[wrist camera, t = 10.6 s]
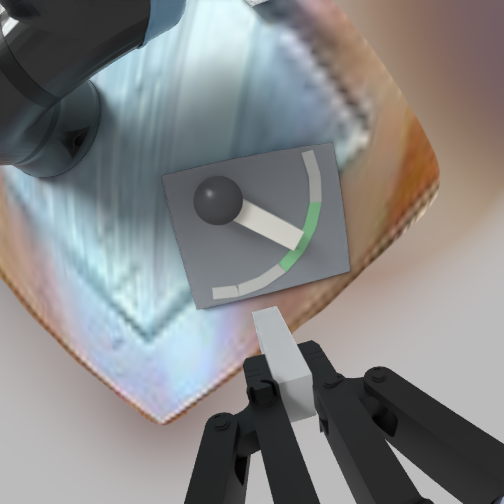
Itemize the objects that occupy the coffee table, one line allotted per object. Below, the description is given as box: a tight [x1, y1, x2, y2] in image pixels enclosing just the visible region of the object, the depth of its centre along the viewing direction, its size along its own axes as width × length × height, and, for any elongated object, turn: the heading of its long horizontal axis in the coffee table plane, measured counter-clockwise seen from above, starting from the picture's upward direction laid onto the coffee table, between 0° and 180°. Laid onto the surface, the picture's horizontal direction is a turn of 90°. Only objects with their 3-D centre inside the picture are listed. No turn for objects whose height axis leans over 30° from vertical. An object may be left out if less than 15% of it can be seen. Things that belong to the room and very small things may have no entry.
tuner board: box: [161, 143, 350, 310], centre depth 38 cm, size 22×18×2 cm
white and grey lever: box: [193, 176, 304, 251], centre depth 33 cm, size 14×5×6 cm, turn 62°
